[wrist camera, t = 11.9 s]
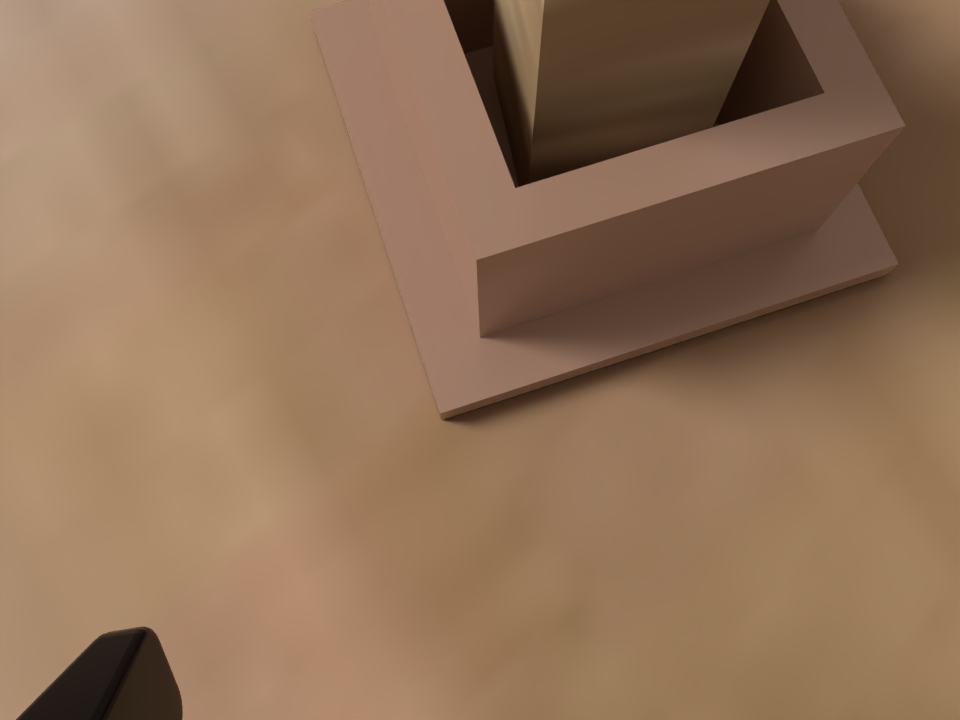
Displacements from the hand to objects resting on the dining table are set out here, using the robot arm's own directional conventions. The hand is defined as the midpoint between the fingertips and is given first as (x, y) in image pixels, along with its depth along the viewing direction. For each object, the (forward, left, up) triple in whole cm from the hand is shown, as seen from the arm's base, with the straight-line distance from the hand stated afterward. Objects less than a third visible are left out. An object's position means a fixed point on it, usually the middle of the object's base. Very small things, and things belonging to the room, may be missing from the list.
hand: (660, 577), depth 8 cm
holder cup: (+9, -4, -9) cm, 14 cm away
